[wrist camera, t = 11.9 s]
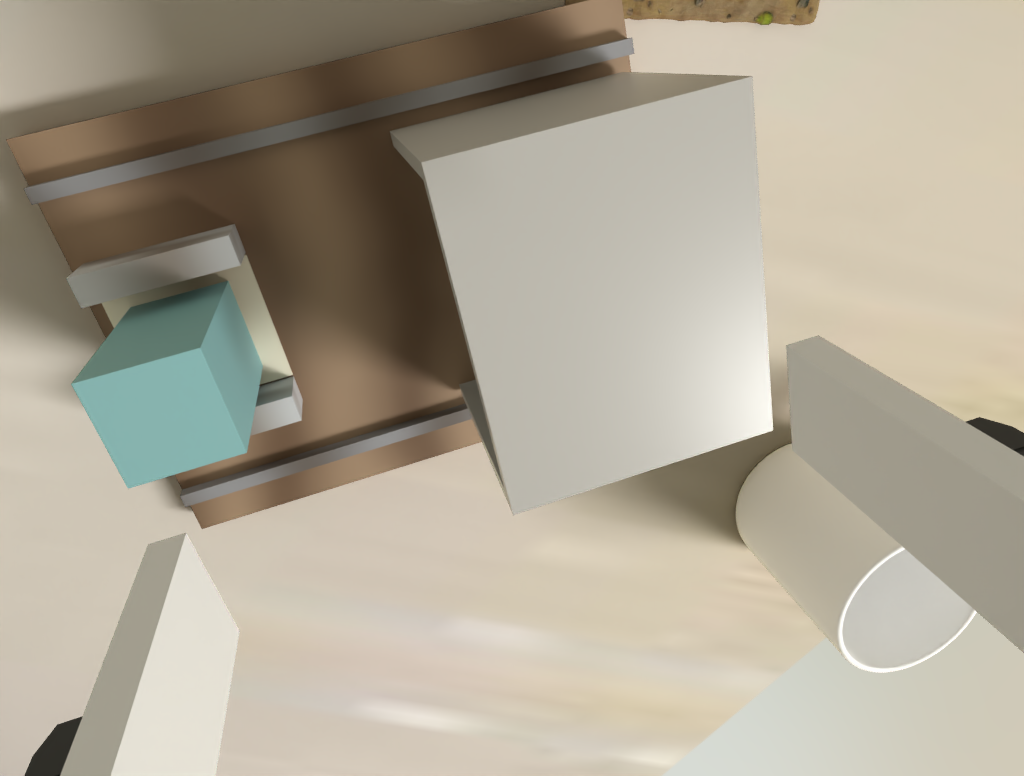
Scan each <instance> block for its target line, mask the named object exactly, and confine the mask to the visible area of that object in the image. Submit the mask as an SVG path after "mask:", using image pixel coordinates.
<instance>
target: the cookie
mask: <svg viewBox="0 0 1024 776" xmlns="http://www.w3.org/2000/svg"><path fill="white" fill-rule="evenodd" d="M583 1H587V0H565V6H566V5H571V4H575V3H579V2H583ZM819 1H820V0H622V5H623V13H624V19H627V18H630V19H634V20H642V19H673V20H678V21H685V20H705V21H710V22H717V21H719V22H723V23H726V22H751V23H758V24H760V25H769V24H770V23H778V24H793V25H805V24H810V23H812V22H814V20H815V18H816V14H817V11H818V7H819Z"/></svg>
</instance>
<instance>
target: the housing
mask: <svg viewBox="0 0 1024 776" xmlns="http://www.w3.org/2000/svg"><path fill="white" fill-rule="evenodd" d="M390 135H391V138H392V142H393V146H394V147H395V148H396V150H397V151H398V152H399V153H400V154H401V155H402V156H403V157H404V159H405V160H406V161H407V162H408V163H409V164H410V165H411V167H412V168H413V169H414V170H415V171H416V172H417V173H418V175H419V176H420V177H421V178H422V179H423V181H424V184H425V188H426V192H427V196H428V200H429V203H430V207H431V211H432V215H433V219H434V223H435V226H436V230H437V234H438V238H439V242H440V245H441V249H442V253H443V257H444V261H445V264H446V268H447V272H448V276H449V280H450V283H451V287H452V291H453V295H454V299H455V303H456V306H457V310H458V314H459V318H460V322H461V325H462V329H463V333H464V337H465V341H466V344H467V348H468V352H469V356H470V360H471V363H472V367H473V371H474V375H475V379H476V380H472V381H469V382H466V383H462V384H459V386H460V389H461V393H462V396H463V399H464V401H465V403H466V406H467V408H468V410H469V413H470V415H471V417H472V420H473V422H474V424H475V427H476V429H477V431H478V434H479V436H480V438H481V441H482V443H483V445H484V448H485V450H486V452H487V455H488V457H489V459H490V462H491V464H492V466H493V469H494V471H495V473H496V476H497V478H498V480H499V483H500V485H501V487H502V490H503V492H504V494H505V497H506V499H507V501H508V504H509V506H510V508H511V511H512V513H513V515H515V514H518V513H522V512H525V511H528V510H531V509H534V508H537V507H540V506H543V505H546V504H549V503H552V502H555V501H558V500H561V499H564V498H568V497H571V496H574V495H577V494H580V493H583V492H586V491H589V490H592V489H595V488H598V487H601V486H604V485H607V484H610V483H614V482H617V481H620V480H623V479H626V478H629V477H632V476H635V475H638V474H641V473H644V472H647V471H650V470H653V469H656V468H660V467H663V466H666V465H669V464H672V463H675V462H678V461H681V460H684V459H687V458H690V457H693V456H696V455H699V454H702V453H706V452H709V451H712V450H715V449H718V448H721V447H724V446H727V445H730V444H733V443H736V442H739V441H742V440H745V439H748V438H752V437H755V436H758V435H761V434H764V433H767V432H770V431H773V419H772V402H771V385H770V368H769V351H768V334H767V317H766V300H765V283H764V266H763V249H762V232H761V215H760V198H759V181H758V164H757V147H756V130H755V113H754V96H753V79H752V76H727V75H697V74H668V73H638V72H620V73H616V74H612V75H609V76H605V77H601V78H597V79H593V80H589V81H585V82H581V83H577V84H573V85H569V86H565V87H561V88H557V89H553V90H549V91H545V92H541V93H538V94H534V95H530V96H526V97H522V98H518V99H514V100H510V101H506V102H502V103H498V104H494V105H490V106H486V107H482V108H478V109H474V110H470V111H467V112H463V113H459V114H455V115H451V116H447V117H443V118H439V119H435V120H431V121H427V122H423V123H419V124H415V125H411V126H407V127H403V128H399V129H396V130H392V131H390Z"/></svg>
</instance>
